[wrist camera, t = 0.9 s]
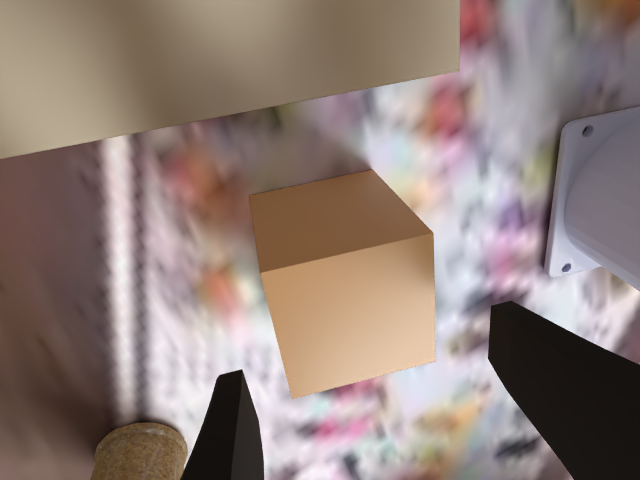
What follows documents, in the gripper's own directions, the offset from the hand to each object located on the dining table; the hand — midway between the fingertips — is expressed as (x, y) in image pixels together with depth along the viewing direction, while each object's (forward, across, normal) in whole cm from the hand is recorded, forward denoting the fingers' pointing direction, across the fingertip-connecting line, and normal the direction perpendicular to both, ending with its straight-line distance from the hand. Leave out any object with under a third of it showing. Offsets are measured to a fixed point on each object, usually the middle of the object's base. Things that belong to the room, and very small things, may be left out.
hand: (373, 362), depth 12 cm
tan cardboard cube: (+8, 0, 0) cm, 8 cm away
